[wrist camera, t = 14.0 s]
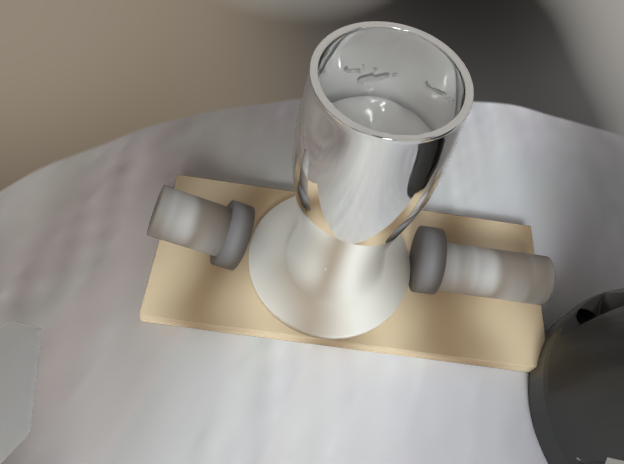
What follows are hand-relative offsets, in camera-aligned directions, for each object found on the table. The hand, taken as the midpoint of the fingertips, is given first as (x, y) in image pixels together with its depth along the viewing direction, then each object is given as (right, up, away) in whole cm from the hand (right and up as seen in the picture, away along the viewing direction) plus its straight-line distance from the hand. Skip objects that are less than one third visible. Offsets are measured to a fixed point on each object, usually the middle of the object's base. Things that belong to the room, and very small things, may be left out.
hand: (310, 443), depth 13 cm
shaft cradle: (+2, +2, +23) cm, 24 cm away
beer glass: (+1, +3, +22) cm, 22 cm away
